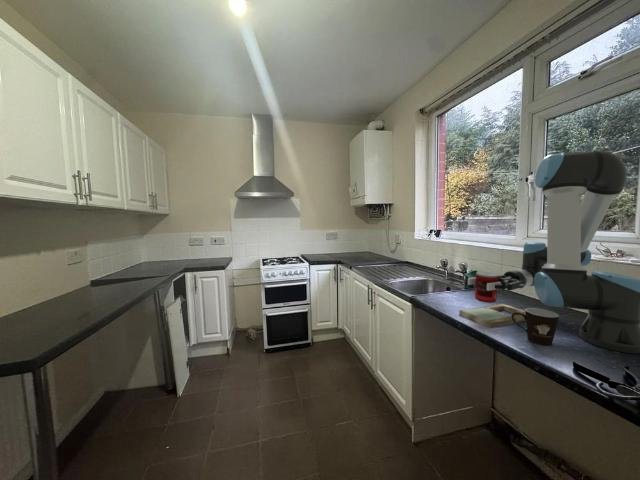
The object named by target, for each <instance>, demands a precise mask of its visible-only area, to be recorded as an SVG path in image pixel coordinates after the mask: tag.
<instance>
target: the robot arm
mask: <svg viewBox="0 0 640 480" xmlns="http://www.w3.org/2000/svg"><path fill="white" fill-rule="evenodd" d="M627 174H628V172H627V167H626V165H625V163H624V161H623V160H622V158H620V157H619V156H618V155H617V154H616V153H613V152H610V151H605V150H594V151H581V152H560V153H553V154H548V155H547V156H545V157H544V158H543V159H542V160H540V162H539V165H538V167H537V170H536V172H535V176H534V183H535V187H536V188H539V189H541V191H542V192H541V193H542V195H543V196H545V197H546V198H547V220H546V221H547V222H546V223H547V224H546V225H547V234H546V235H547V239H546V240H547V241H546V242H547V243H546V242H540V241H527V242H524V246H523V251H522V264H521V269H516V270H508V271H506V272H504V274H500V275H498V282H494V283H487V290H488V291H490V290H497V291H498V290H506V291H513V290H517V289H521V290H522V289H523V288H529V287H530V288H531V287H534V291H535V294H536V296H537V298H538V299H539V301H540V302H541V303H542V304H543V305H544V306H547V307H548V306H549V307H555V308H560V309H562V308H563V309H564V308H565V309H575V310H585V311H588V312H587V316H586V318H585V319H584V321H583V323H582V324H581V326H580V327H579V331H578V336H579V338H581V339H582V340H583V341H586V342H588V343H589V344H592V345H595V346H597V347H599V348H600V347H601V348H603V349H607V350H611V351H615V352H622V353H627V354H635V355H637V354H640V279H638V278H636V277H633V276H628V275H625V274H618V273H613V272H608V271H600V270H593V271H592V272H591V274H590V275H588V269H586V267H585V266H588V265H589V264H590V263H591V261H592V253H591V251H590V250H589V249H588V248H589V247H590V244H591V243H592V241H593V239H594V237H595V235H596V233H597V231H598V229H599V228H600V226H601V223H602V221H603V219H604V218H605V215H606V214H607V212H608V210H609V207H610V206H611V204H612V202H613V200H614V198H615V196H617V195H620V194H621V193H622V191H623V190H624V188H625V187H626V183H627V179H628V175H627ZM583 193H584V195H583V197H581V196H582V194H583ZM581 198H582V199H581ZM467 285H468V286H470V285H471V286H472V285H476V274H475V275H474V277H469V278H467Z"/></svg>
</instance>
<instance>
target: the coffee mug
mask: <svg viewBox="0 0 640 480" xmlns="http://www.w3.org/2000/svg"><path fill="white" fill-rule="evenodd" d="M524 311H526V315H524V314H522V313H519V312H517V313H511V314H512V315H511V316H512V320H513V321H514V322H515V323H514V324H515V325H517V326H518V327H519V328H521V330H524V331H525V333H526V334H527V335H526V337H527V340H528V341H529V342H531V343H533V344H535V345H540V346H544V347H550V346H552V345H553V343H554V339H555V338H554V337H555V334H556V330H557V326H558V321H559V319H560V315H559V314H558V313H557V312H554V311H551V310H548V309H543V308H537V307H528V308H525V310H524ZM517 314H520V315H522V316H523V317H524V318H525V320H526V321H525V322H526V328H525V327H524V326H523V325H520V324H519V322H516V321H515V320H514V319H513V317H514V315H517Z"/></svg>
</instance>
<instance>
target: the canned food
mask: <svg viewBox="0 0 640 480" xmlns="http://www.w3.org/2000/svg"><path fill="white" fill-rule="evenodd" d="M475 275H476V284H474V285H475V288H474V297H475V300H477V301H478V302H482V303H488V304H489V303H490V304H491V303H496V302H497V299H498V289H497V290H490V291H488V290H487V283H494V282H498V276H499V274H498V273H495V272H492V271H476V273H475Z"/></svg>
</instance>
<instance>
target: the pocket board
mask: <svg viewBox="0 0 640 480" xmlns="http://www.w3.org/2000/svg"><path fill="white" fill-rule="evenodd" d="M501 311H505V312H508V313H511V314H513V313H517V312H519V313H522V314H524V315H526V310H524V309H521V308H517V307H514V306H511V305H508V304H505V303H498V304H492V305H486V306H479V307H472V308H471V307H470V308H466V309H465V308H464V309H459V313H458V314H459V316H461V317H464V318H466V319H469V320H470V321H474V322H476V323H478V324H480V325H483V326H485V327H488V328H490V329H491V328H496V327H501V326H505V325H506V326H507V325H511V324H512V325H513V324H516V323H515V322H514V321H513V320H512V315H509V314H506V313H503V312H501ZM513 319H514V320H515V321H516V322H517V323H521V322H526V320H525V318H524V317H523V316H522V315H520V314H516V315H514V317H513Z"/></svg>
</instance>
